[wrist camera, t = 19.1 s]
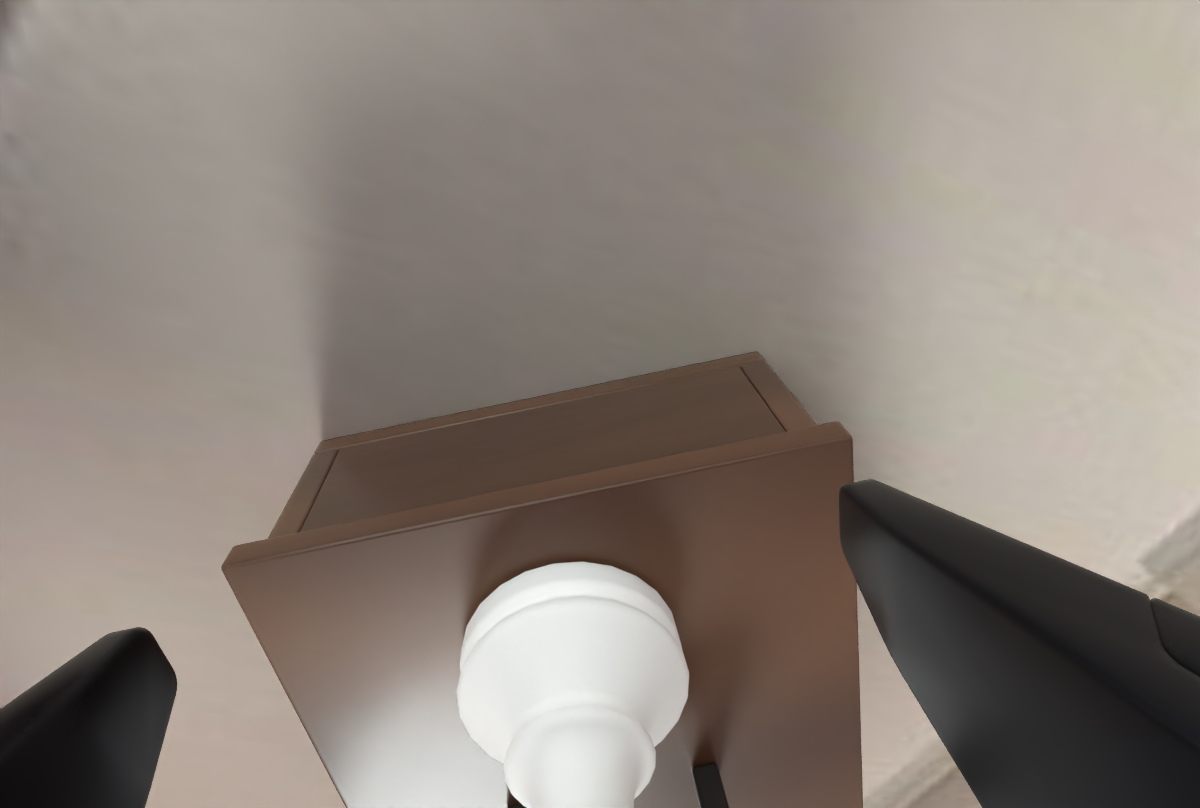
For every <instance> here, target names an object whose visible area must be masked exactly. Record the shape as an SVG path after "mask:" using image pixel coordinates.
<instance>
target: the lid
mask: <svg viewBox="0 0 1200 808" xmlns="http://www.w3.org/2000/svg"><path fill="white" fill-rule="evenodd" d="M849 483H854V475H853V440H852V436H851V435H850V433H849V432H848V431H847V430H846V429H845V428H844V427H843V426H842V424H841V423H840V422H831V423H826V424H821V425H816V426H812V427H807V428H802V429H797V430H792V431H787V432H783V433H778V434H773V435H768V436H763V437H758V438H754V439H749V440H744V441H739V442H734V443H729V444H725V445H720V446H715V447H710V448H705V449H700V450H696V451H691V452H686V453H681V454H676V455H671V456H667V457H662V458H657V459H652V460H647V461H642V462H638V463H633V464H628V465H623V466H618V467H613V468H609V469H604V470H599V471H594V472H589V473H584V474H580V475H575V476H570V477H565V478H560V479H555V480H551V481H546V482H541V483H536V484H531V485H526V486H522V487H517V488H512V489H507V490H502V491H497V492H493V493H488V494H483V495H478V496H473V497H468V498H464V499H459V500H454V501H449V502H444V503H439V504H435V505H430V506H425V507H420V508H415V509H410V510H406V511H401V512H396V513H391V514H386V515H381V516H377V517H372V518H367V519H362V520H357V521H352V522H348V523H343V524H338V525H333V526H328V527H323V528H319V529H314V530H309V531H304V532H299V533H294V534H290V535H285V536H280V537H275V538H270V539H265V540H261V541H256V542H251V543H246V544H241V545H237V546H235V547H233V548H232V550H231V551H230V553H229V555H228V556H227V558H226V560H225V561H224V563H223V564H222V571H223V573H224V575H225V577H226V579H227V581H228V583H229V585H230V586H231V588H232V590H233V592H234V594H235V596H236V598H237V600H238V602H239V604H240V606H241V608H242V609H243V611H244V613H245V615H246V617H247V619H248V621H249V623H250V625H251V627H252V629H253V630H254V632H255V634H256V636H257V638H258V640H259V642H260V644H261V646H262V648H263V650H264V652H265V653H266V655H267V657H268V659H269V661H270V663H271V665H272V667H273V669H274V671H275V673H276V674H277V676H278V678H279V680H280V682H281V684H282V686H283V688H284V690H285V692H286V694H287V696H288V697H289V699H290V701H291V703H292V705H293V707H294V709H295V711H296V713H297V715H298V717H299V718H300V720H301V722H302V724H303V726H304V728H305V730H306V732H307V734H308V736H309V738H310V739H311V741H312V743H313V745H314V747H315V749H316V751H317V753H318V755H319V757H320V759H321V761H322V762H323V764H324V766H325V768H326V770H327V772H328V774H329V776H330V778H331V780H332V782H333V783H334V785H335V787H336V789H337V791H338V793H339V795H340V797H341V799H342V801H343V803H344V805H345V806H346V808H526V807H524V806H523V805H522V804H521V803H520V802H519V801H518V800H517V799H516V798H515V797H514V796H513V795H512V794H511V792H510V790H509V788H508V786H507V784H506V782H505V778H504V768H503V763H501V762H500V761H498V760H496V759H494V758H492V757H491V756H489V755H488V754H487V753H486V752H485V751H484V750H483V749H482V748H481V747H480V746H479V745H478V744H477V743H476V742H475V741H474V740H473V739H472V738H471V737H470V735H469V733H468V731H467V729H466V727H465V725H464V724H463V722H462V720H461V718H460V715H459V708H458V700H457V693H456V690H457V686H458V682H459V677H460V673H461V672H460V657H461V649H462V644H463V640H464V635H465V631H466V627H467V625H468V623H469V621H470V620H471V618H472V616H473V615H474V613H475V611H476V610H477V608H478V606H479V605H480V603H481V602H483V601H484V600H485V599H486V598H487V597H488V596H489V595H490V594H491V593H492V592H493V591H494V590H496V589H497V588H498V587H499V586H500V585H502V584H503V583H505V582H507V581H509V580H511V579H512V578H514V577H516V576H518V575H520V574H522V573H523V572H525V571H529V570H532V569H536V568H539V567H543V566H546V565H550V564H554V563H568V562H589V563H596V564H603V565H609V566H613V567H615V568H618V569H620V570H623V571H625V572H628V573H630V574H633V575H635V576H637V577H638V578H640V579H641V580H643V581H644V582H645V583H647V584H648V585H649V586H651V587H652V588H653V589H655V590H656V591H657V592H658V593H659V595H660V596H661V597H662V599H663V600H664V602H665V603H666V604H667V606H668V607H669V608H670V610H671V611H672V615H673V618H674V621H675V624H676V628H677V631H678V634H679V638H680V642H681V645H682V651H683V654H684V657H685V661H686V664H687V667H688V670H689V686H688V698H687V701H686V703H685V706H684V708H683V710H682V713H681V715H680V718H679V720H678V722H677V723H676V724H675V725H674V727H673V728H672V729H671V730H670V732H669V733H668V734H667V736H666V737H665V738H664V739H663V740H662V741H661V742H660V743H659V744H658V745H657V746H655V750H656V764H655V770H654V772H653V774H652V777H651V779H650V782H649V783H648V785H647V786H646V787H645V788H644V790H643V791H642V792H641V793H640V794H639V796H637V797H636V798H635V799H634V807H633V808H863V792H862V756H861V721H860V686H859V651H858V616H857V582H856V579H855V577H854V575H853V573H852V571H851V568H850V566H849V564H848V562H847V560H846V558H845V555H844V553H843V550H842V546H841V541H840V525H839V491H840V488H841V487H842V486H843V485H845V484H849Z"/></svg>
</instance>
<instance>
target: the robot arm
mask: <svg viewBox="0 0 1200 808" xmlns="http://www.w3.org/2000/svg"><path fill="white" fill-rule="evenodd" d="M839 525H840V541H841V546H842V550H843V553H844V555H845V558H846V560H847V562H848V564H849V566H850V568H851V571H852V573H853V575H854V577H855V579H856V582H857V584H858V586H859V588H860V590H861V592H862V595H863V597H864V599H865V601H866V603H867V606H868V608H869V610H870V612H871V614H872V616H873V619H874V621H875V623H876V625H877V627H878V629H879V632H880V634H881V636H882V638H883V640H884V642H885V644H886V646H887V649H888V651H889V653H890V655H891V657H892V658H893V660H894V662H895V664H896V665H897V667H898V669H899V671H900V672H901V674H902V676H903V677H904V679H905V681H906V682H907V684H908V686H909V687H910V689H911V691H912V692H913V694H914V696H915V697H916V699H917V701H918V702H919V704H920V705H921V707H922V709H923V710H924V712H925V714H926V715H927V717H928V719H929V720H930V722H931V724H932V725H933V727H934V729H935V730H936V732H937V733H938V735H939V737H940V738H941V740H942V742H943V743H944V745H945V747H946V748H947V750H948V752H949V753H950V755H951V757H952V758H953V760H954V762H955V763H956V765H957V766H958V768H959V770H960V771H961V773H962V775H963V776H964V778H965V780H966V781H967V783H968V785H969V786H970V788H971V790H972V791H973V793H974V795H975V796H976V798H977V799H978V801H979V803H980V804H981V806H982V808H1200V616H1197V615H1195V614H1192V613H1190V612H1187V611H1185V610H1183V609H1180V608H1178V607H1176V606H1173V605H1171V604H1168V603H1166V602H1164V601H1161V600H1159V599H1156V598H1153V599H1151V600H1149V597H1148V596H1147V595H1146V594H1144V593H1142V592H1139V591H1137V590H1135V589H1132V588H1130V587H1128V586H1125V585H1123V584H1120V583H1118V582H1116V581H1113V580H1111V579H1109V578H1106V577H1104V576H1101V575H1099V574H1097V573H1094V572H1092V571H1090V570H1087V569H1085V568H1083V567H1080V566H1078V565H1075V564H1073V563H1071V562H1068V561H1066V560H1064V559H1061V558H1059V557H1056V556H1054V555H1052V554H1049V553H1047V552H1045V551H1042V550H1040V549H1037V548H1035V547H1033V546H1030V545H1028V544H1026V543H1023V542H1021V541H1018V540H1016V539H1014V538H1011V537H1009V536H1007V535H1004V534H1002V533H999V532H997V531H995V530H992V529H990V528H988V527H985V526H983V525H980V524H978V523H976V522H973V521H971V520H969V519H966V518H964V517H961V516H959V515H957V514H954V513H952V512H950V511H947V510H945V509H942V508H940V507H938V506H935V505H933V504H931V503H928V502H926V501H923V500H921V499H919V498H916V497H914V496H912V495H909V494H907V493H904V492H902V491H900V490H897V489H895V488H893V487H890V486H888V485H885V484H883V483H881V482H878V481H876V480H871V479H868V480H863V481H858V482H854V483H849V484H845V485H843V486H842V487H841V488H840V491H839ZM176 691H177V678H176V675H175V672H174V670H173V668H172V666H171V665H170V663H169V661H168V660H167V658H166V656H165V655H164V653H163V651H162V650H161V648H160V646H159V645H158V643H157V641H156V640H155V638H154V636H153V635H152V634H151V632H150V631H148V630H147V629H145V628H141V627H137V628H132V629H127V630H122V631H117V632H112V633H110V634H107V635H105V636H104V637H102V638H101V639H99V640H98V641H97V642H95V643H94V644H92V645H91V646H89V647H88V648H87V649H85V650H84V651H82V652H81V653H80V654H78V655H77V656H75V657H74V658H72V659H71V660H70V661H68V662H67V663H65V664H64V665H62V666H61V667H60V668H58V669H57V670H55V671H54V672H53V673H51V674H50V675H48V676H47V677H45V678H44V679H43V680H41V681H40V682H38V683H37V684H36V685H34V686H33V687H31V688H30V689H28V690H27V691H26V692H24V693H23V694H21V695H20V696H18V697H17V698H16V699H14V700H13V701H11V702H10V703H9V704H7V705H6V706H4V707H3V708H1V709H0V808H145V805H146V802H147V798H148V795H149V792H150V788H151V785H152V781H153V777H154V773H155V770H156V766H157V762H158V759H159V755H160V751H161V748H162V744H163V740H164V736H165V733H166V729H167V725H168V722H169V718H170V714H171V710H172V707H173V703H174V699H175V696H176Z"/></svg>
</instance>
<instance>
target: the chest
mask: <svg viewBox="0 0 1200 808" xmlns="http://www.w3.org/2000/svg"><path fill="white" fill-rule="evenodd" d="M816 425H817V424H816V422H815V421H814V420H813V419H812V418H811V416H810V415H809V414H808V413H807V411H806V410H805V409H804V408H803V407H802V405H801V404H800V403H799V402H798V400H797V399H796V398H795V397H794V396H793V394H792V393H791V392H790V391H789V389H788V388H787V387H786V386H785V385H784V383H783V382H782V381H781V380H780V379H779V377H778V376H777V375H776V374H775V372H774V371H773V370H772V369H771V368H770V366H769V365H768V364H767V363H766V362H765V361H764V359H763V358H762V357H761V355H760V354H759V353H758V352H752V353H747V354H743V355H738V356H733V357H728V358H723V359H718V360H713V361H709V362H704V363H699V364H694V365H689V366H684V367H679V368H674V369H670V370H665V371H660V372H655V373H650V374H645V375H640V376H636V377H631V378H626V379H621V380H616V381H611V382H606V383H602V384H597V385H592V386H587V387H582V388H577V389H572V390H568V391H563V392H558V393H553V394H548V395H543V396H538V397H534V398H529V399H524V400H519V401H514V402H509V403H504V404H500V405H495V406H490V407H485V408H480V409H475V410H470V411H466V412H461V413H456V414H451V415H446V416H441V417H436V418H432V419H427V420H422V421H417V422H412V423H407V424H402V425H398V426H393V427H388V428H383V429H378V430H373V431H368V432H364V433H359V434H354V435H349V436H344V437H339V438H334V439H330V440H325V441H322V442H320V444H319V446H318V447H317V449H316V451H315V455H313V457H312V459H311V460H310V462H309V464H308V466H307V468H306V470H305V471H304V473H303V475H302V477H301V479H300V481H299V482H298V484H297V486H296V488H295V490H294V492H293V493H292V495H291V497H290V499H289V501H288V503H287V504H286V506H285V508H284V510H283V512H282V514H281V515H280V517H279V519H278V521H277V523H276V525H275V526H274V528H273V530H272V532H271V534H270V536H269V537H268V539H270V538H275V537H280V536H285V535H290V534H294V533H299V532H304V531H309V530H314V529H319V528H323V527H328V526H333V525H338V524H343V523H348V522H352V521H357V520H362V519H367V518H372V517H377V516H381V515H386V514H391V513H396V512H401V511H406V510H410V509H415V508H420V507H425V506H430V505H435V504H439V503H444V502H449V501H454V500H459V499H464V498H468V497H473V496H478V495H483V494H488V493H493V492H497V491H502V490H507V489H512V488H517V487H522V486H526V485H531V484H536V483H541V482H546V481H551V480H555V479H560V478H565V477H570V476H575V475H580V474H584V473H589V472H594V471H599V470H604V469H609V468H613V467H618V466H623V465H628V464H633V463H638V462H642V461H647V460H652V459H657V458H662V457H667V456H671V455H676V454H681V453H686V452H691V451H696V450H700V449H705V448H710V447H715V446H720V445H725V444H729V443H734V442H739V441H744V440H749V439H754V438H758V437H763V436H768V435H773V434H778V433H783V432H787V431H792V430H797V429H802V428H807V427H812V426H816Z"/></svg>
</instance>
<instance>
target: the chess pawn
mask: <svg viewBox="0 0 1200 808" xmlns="http://www.w3.org/2000/svg"><path fill="white" fill-rule="evenodd" d="M460 672H461V673H460V677H459V682H458V686H457V690H456V693H457V700H458V708H459V715H460V718H461V720H462V722H463V724H464V725H465V727H466V729H467V731H468V733H469V735H470V737H471V738H472V739H473V740H474V741H475V742H476V743H477V744H478V745H479V746H480V747H481V748H482V749H483V750H484V751H485V752H486V753H487V754H488V755H489V756H491V757H492V758H494V759H496V760H498V761H500V762H501V763H503V768H504V778H505V782H506V784H507V786H508V788H509V790H510V792H511V794H512V795H513V796H514V797H515V798H516V799H517V800H518V801H519V802H520V803H521V804H522V805H523V806H524V807H526V808H633V807H634V799H635V798H636V797H637V796H639V794H640V793H641V792H642V791H643V790H644V788H645V787H646V786H647V785H648V783H649V782H650V779H651V777H652V774H653V772H654V770H655V764H656V750H655V746H657V745H658V744H659V743H660V742H661V741H662V740H663V739H664V738H665V737H666V736H667V734H668V733H669V732H670V730H671V729H672V728H673V727H674V725H675V724H676V723H677V722H678V720H679V718H680V715H681V713H682V710H683V708H684V706H685V703H686V701H687V698H688V686H689V670H688V667H687V664H686V661H685V657H684V654H683V651H682V645H681V642H680V638H679V634H678V631H677V628H676V624H675V621H674V618H673V615H672V611H671V610H670V608H669V607H668V606H667V604H666V603H665V602H664V600H663V599H662V597H661V596H660V595H659V593H658V592H657V591H656V590H655V589H653V588H652V587H651V586H649V585H648V584H647V583H645V582H644V581H643V580H641V579H640V578H638V577H637V576H635V575H633V574H630V573H628V572H625V571H623V570H620V569H618V568H615V567H613V566H609V565H603V564H596V563H589V562H568V563H554V564H550V565H546V566H543V567H539V568H536V569H532V570H529V571H525V572H523V573H522V574H520V575H518V576H516V577H514V578H512V579H511V580H509V581H507V582H505V583H503V584H502V585H500V586H499V587H498V588H497V589H496V590H494V591H493V592H492V593H491V594H490V595H489V596H488V597H487V598H486V599H485V600H484V601H483V602H481V603H480V605H479V606H478V608H477V610H476V611H475V613H474V615H473V616H472V618H471V620H470V621H469V623H468V625H467V627H466V631H465V635H464V640H463V644H462V649H461V657H460Z"/></svg>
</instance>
